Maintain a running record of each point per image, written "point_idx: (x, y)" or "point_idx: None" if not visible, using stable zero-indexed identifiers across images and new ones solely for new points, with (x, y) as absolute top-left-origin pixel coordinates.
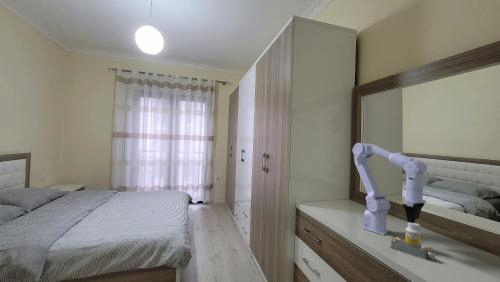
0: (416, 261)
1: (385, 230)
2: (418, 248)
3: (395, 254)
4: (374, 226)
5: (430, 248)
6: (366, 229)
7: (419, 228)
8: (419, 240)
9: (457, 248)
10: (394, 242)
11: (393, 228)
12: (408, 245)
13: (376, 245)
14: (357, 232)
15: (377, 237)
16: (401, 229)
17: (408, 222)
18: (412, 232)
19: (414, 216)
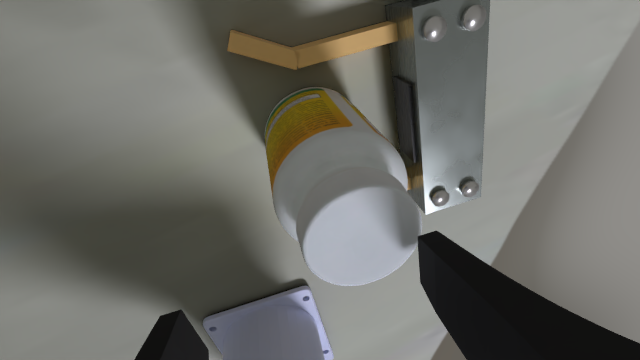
0: (527, 8)
1: (266, 315)
2: (474, 47)
3: (522, 116)
4: (322, 351)
5: (257, 40)
6: (329, 344)
7: (360, 167)
8: (345, 108)
9: None
10: (477, 178)
11: (112, 341)
12: (476, 109)
13: (484, 214)
14: (403, 327)
15: None
16: (57, 324)
17: (364, 283)
18: (406, 172)
19: (531, 300)
